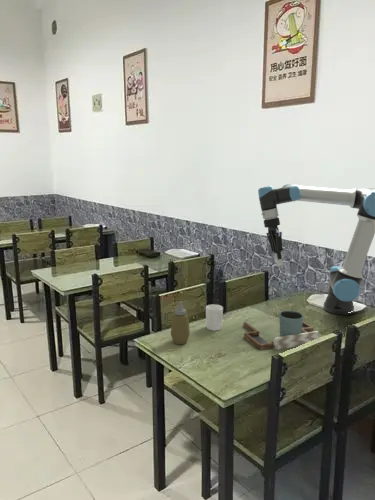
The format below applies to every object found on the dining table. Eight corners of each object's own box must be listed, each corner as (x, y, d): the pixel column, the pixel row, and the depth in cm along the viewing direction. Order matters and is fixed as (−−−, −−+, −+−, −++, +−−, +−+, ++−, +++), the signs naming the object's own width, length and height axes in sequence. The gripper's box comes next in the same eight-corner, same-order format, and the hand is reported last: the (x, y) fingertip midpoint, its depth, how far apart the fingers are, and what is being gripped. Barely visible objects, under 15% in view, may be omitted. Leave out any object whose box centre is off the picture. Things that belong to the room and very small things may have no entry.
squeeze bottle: (167, 339, 179) (168, 299, 176) (185, 336, 182) (185, 297, 179) (174, 347, 172) (175, 305, 168) (192, 344, 175) (193, 303, 171)
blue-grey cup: (293, 348, 173) (296, 320, 171) (272, 340, 180) (274, 314, 178) (305, 340, 181) (308, 314, 178) (285, 333, 187) (287, 308, 185)
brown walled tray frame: (292, 319, 205) (293, 309, 204) (329, 340, 181) (330, 329, 180) (231, 327, 193) (232, 317, 192) (262, 352, 169) (263, 340, 168)
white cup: (221, 332, 188) (222, 311, 186) (203, 330, 190) (204, 309, 188) (223, 325, 196) (224, 305, 194) (206, 323, 197) (207, 303, 195)
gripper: (258, 220, 209) (267, 266, 210) (269, 219, 196) (278, 268, 198) (272, 217, 210) (281, 263, 212) (283, 216, 197) (293, 264, 199)
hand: (280, 265), depth 205 cm, fingers closed
